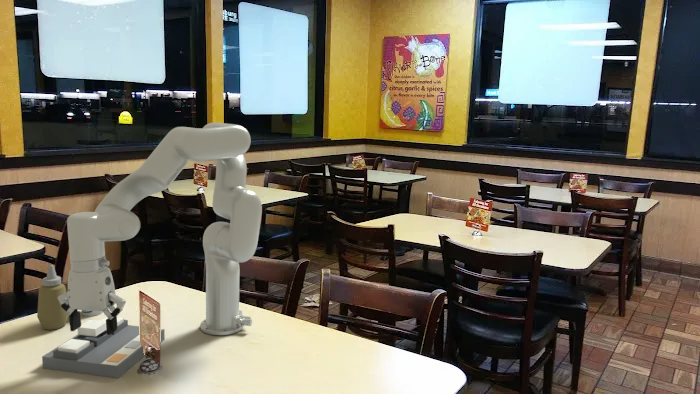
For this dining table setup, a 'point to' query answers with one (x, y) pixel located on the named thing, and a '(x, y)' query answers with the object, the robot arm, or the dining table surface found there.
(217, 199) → the robot arm
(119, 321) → the switch
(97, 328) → the switch
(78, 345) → the switch
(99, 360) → the switch box
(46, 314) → the squeeze bottle
